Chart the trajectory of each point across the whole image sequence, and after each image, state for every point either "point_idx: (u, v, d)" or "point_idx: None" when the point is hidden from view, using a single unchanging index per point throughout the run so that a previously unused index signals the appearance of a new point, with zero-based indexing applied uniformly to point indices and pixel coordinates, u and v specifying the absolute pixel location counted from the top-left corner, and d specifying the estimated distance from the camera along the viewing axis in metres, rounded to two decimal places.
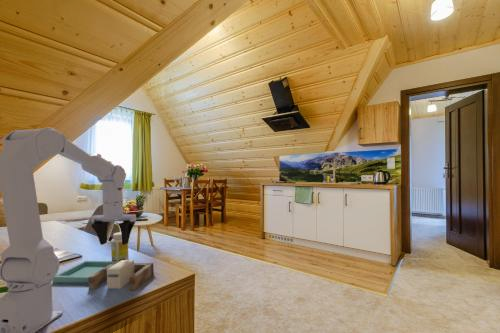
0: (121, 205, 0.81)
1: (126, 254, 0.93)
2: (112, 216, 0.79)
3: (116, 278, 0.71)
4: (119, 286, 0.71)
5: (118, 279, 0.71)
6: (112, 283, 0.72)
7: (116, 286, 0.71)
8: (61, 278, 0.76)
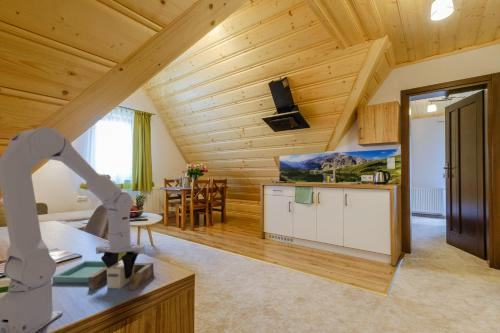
0: (128, 235, 0.75)
1: None
2: (119, 248, 0.72)
3: (116, 278, 0.71)
4: (119, 286, 0.71)
5: (118, 278, 0.71)
6: (112, 282, 0.72)
7: (116, 285, 0.71)
8: (61, 278, 0.76)
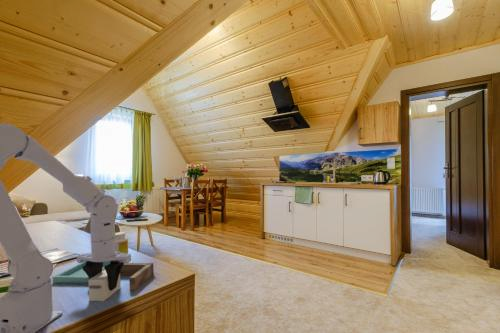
0: (113, 242, 0.68)
1: None
2: (102, 257, 0.65)
3: (99, 289, 0.65)
4: (102, 298, 0.65)
5: (101, 290, 0.65)
6: (95, 294, 0.65)
7: (99, 298, 0.65)
8: (61, 278, 0.76)
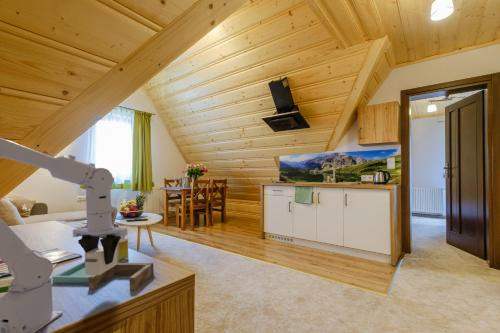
0: (109, 216, 0.67)
1: (126, 254, 0.93)
2: (98, 230, 0.65)
3: (95, 263, 0.64)
4: (98, 272, 0.64)
5: (97, 264, 0.64)
6: (91, 268, 0.64)
7: (95, 272, 0.64)
8: (61, 278, 0.76)
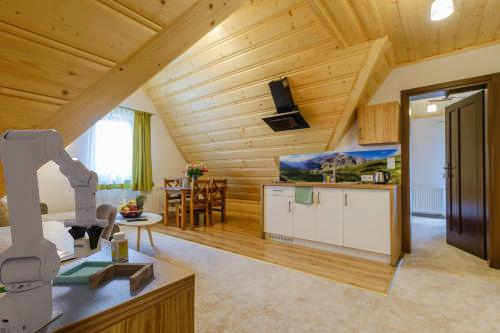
0: (94, 210, 0.82)
1: (126, 254, 0.93)
2: (84, 222, 0.79)
3: (82, 248, 0.78)
4: (84, 256, 0.78)
5: (84, 249, 0.78)
6: (78, 252, 0.79)
7: (82, 255, 0.78)
8: (61, 278, 0.76)
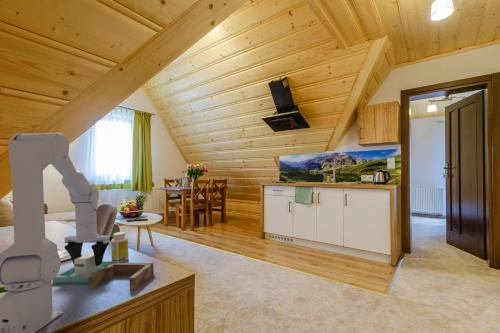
0: (94, 226, 0.82)
1: (126, 254, 0.93)
2: (84, 238, 0.79)
3: (82, 267, 0.78)
4: (85, 275, 0.78)
5: (84, 268, 0.78)
6: (79, 272, 0.79)
7: (82, 275, 0.78)
8: (61, 278, 0.76)
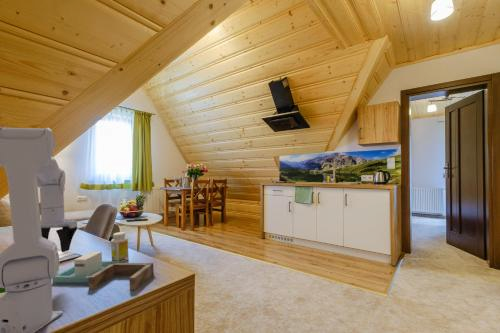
0: (61, 210, 0.77)
1: (126, 254, 0.93)
2: (49, 222, 0.75)
3: (82, 267, 0.78)
4: (85, 275, 0.78)
5: (84, 268, 0.78)
6: (79, 272, 0.79)
7: (82, 275, 0.78)
8: (61, 278, 0.76)
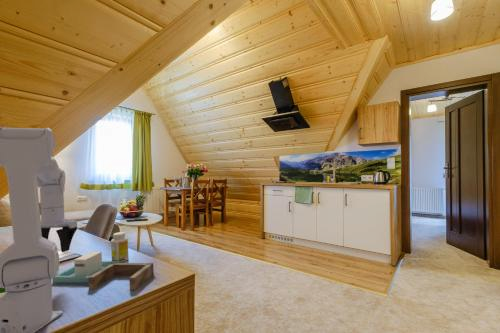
0: (61, 210, 0.77)
1: (126, 254, 0.93)
2: (49, 222, 0.75)
3: (82, 267, 0.78)
4: (85, 275, 0.78)
5: (84, 268, 0.78)
6: (79, 272, 0.79)
7: (82, 275, 0.78)
8: (61, 278, 0.76)
